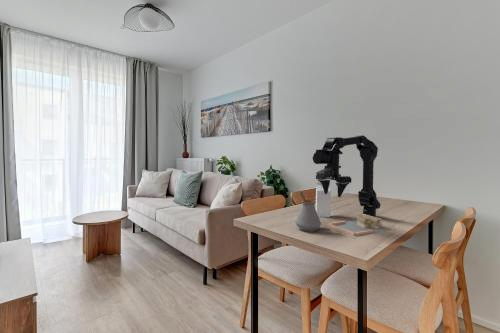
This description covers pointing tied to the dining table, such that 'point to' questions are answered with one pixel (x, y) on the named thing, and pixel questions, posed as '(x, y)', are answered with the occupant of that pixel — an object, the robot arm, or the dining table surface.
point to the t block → (369, 221)
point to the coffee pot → (308, 216)
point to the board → (354, 228)
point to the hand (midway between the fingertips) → (332, 195)
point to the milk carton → (322, 201)
